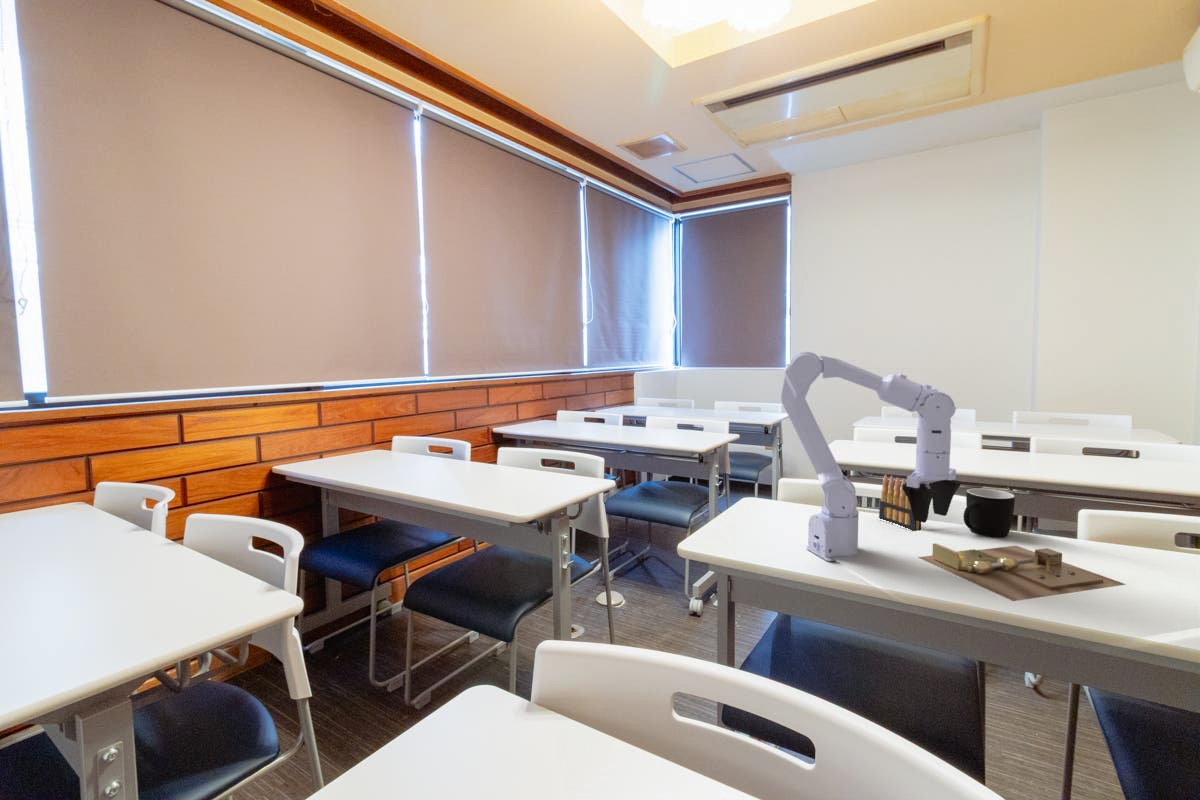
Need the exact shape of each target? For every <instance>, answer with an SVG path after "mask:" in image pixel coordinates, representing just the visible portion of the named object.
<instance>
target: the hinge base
mask: <svg viewBox="0 0 1200 800" xmlns="http://www.w3.org/2000/svg"><path fill="white" fill-rule="evenodd" d="M1034 552H1035V560H1034V564H1037V565H1038V564H1046V567H1040V568H1032V569H1024V570H1017V571H1012V574H1013V575H1015V576H1017V577H1020V578H1022V579H1025V580H1027V581H1030V582H1032V583H1035V584H1037V585H1039V586H1042V587H1044V588H1047V589H1049V590H1055V589H1062V588H1069V587H1076V586H1083V585H1090V584H1097V583H1103V579H1101V578H1098V577H1096V576H1093V575H1090V574H1087V573H1084V572H1082V571H1079V570H1076V569H1073V568H1070V567H1068V566H1065V565H1062V562H1063V553H1062V552H1059V551H1057V550H1053V549H1051V548H1046V547H1044V548H1039V549H1034Z"/></svg>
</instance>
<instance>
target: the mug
mask: <svg viewBox="0 0 1200 800" xmlns="http://www.w3.org/2000/svg"><path fill="white" fill-rule="evenodd" d="M965 494H966V498H965V499H966V507H965V509H964V511H963V522H964V525H965V526H966V527H967V528H968V529H969V531H970V532H971V533H972V534H974V535H978V536H982V537H987V538H992V539H993V538H994V539H1004V538H1007V537H1008V536H1009V534H1010V530H1011V527H1012V523H1013V519H1014V512H1015V504H1016V502H1015V501H1016V500H1015V499H1016V497H1015V494H1013V493H1010V492H1009V491H1004V490H999V489H993V488H982V487H980V488H977V487H976V488H969V489H967V490H966V493H965Z"/></svg>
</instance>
